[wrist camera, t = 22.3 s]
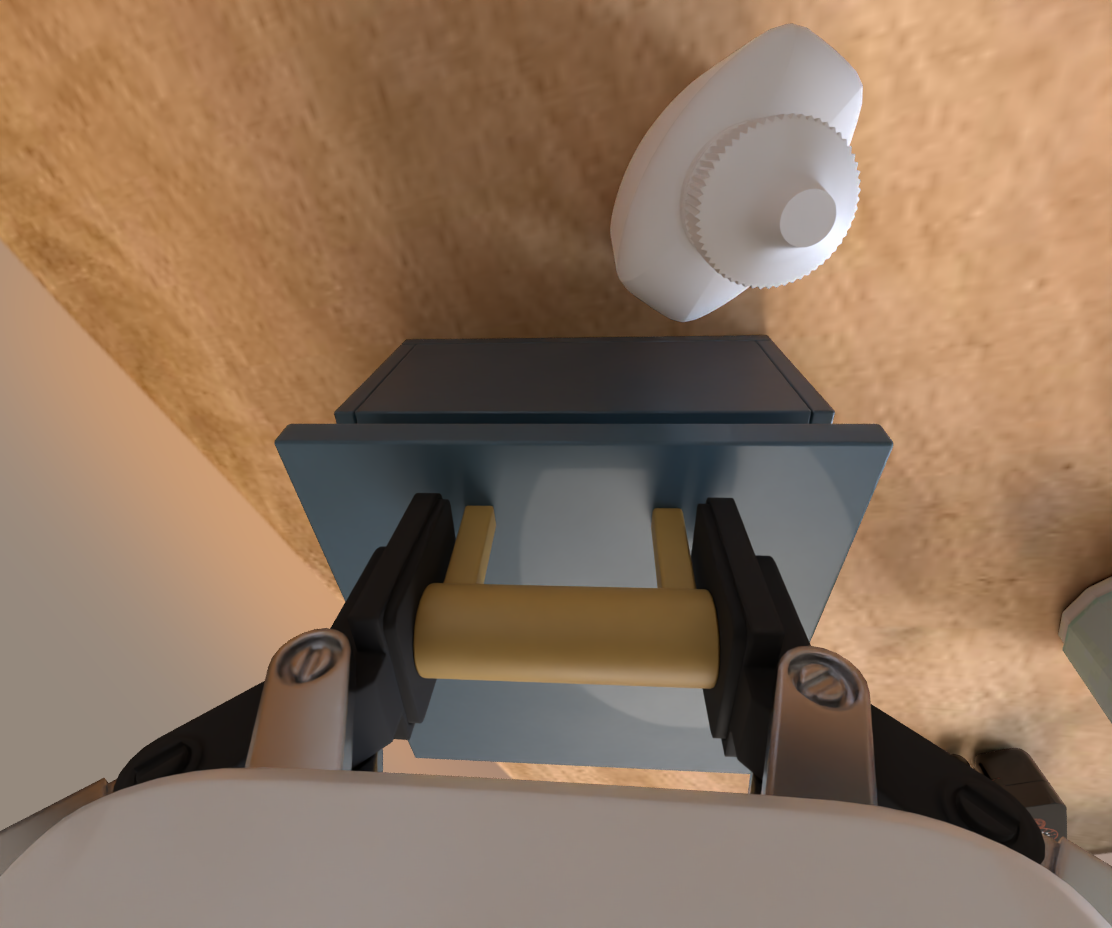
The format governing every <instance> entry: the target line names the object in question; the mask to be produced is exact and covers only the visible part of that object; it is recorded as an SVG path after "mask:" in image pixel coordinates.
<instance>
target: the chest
mask: <svg viewBox="0 0 1112 928" xmlns="http://www.w3.org/2000/svg"><path fill="white" fill-rule="evenodd" d="M834 414H835V411H834V410H833V409H832V407H831V406H830V405H829V404H828V403H827V402H826V401H825V400H824V398H823V397H822V396H821V395H820V394H819V393H818V392H817V391H816V390H815V388H814V387H813V386H812V385H811V384H810V383H809V382H808V381H807V379H806V378H805V377H804V376H803V375H802V374H801V373H800V372H799V370H798V369H797V368H796V367H795V366H794V365H793V364H792V363H791V361H790V360H789V359H788V358H787V357H786V356H785V355H784V354H783V352H782V351H781V350H780V349H779V348H778V347H777V346H776V345H775V343H774V342H773V341H772V340H771V339H770V338H769V336H767V335H747V336H664V337H581V338H497V339H414V340H405V341H404V342H403V343H402V345H400V346H399V347H398V348H397V349H396V350H395V351H394V352H393V353H392V354H391V355H390V356H389V357H388V358H387V359H386V360H385V361H384V362H383V363H382V364H381V365H380V366H379V367H378V368H377V369H376V370H375V371H374V373H373V374H372V375H371V376H370V377H369V378H368V379H367V380H366V381H365V382H364V383H363V384H362V385H361V386H360V387H359V388H358V389H357V390H356V391H355V392H354V393H353V394H352V395H351V396H350V397H349V398H348V399H347V400H346V401H345V402H344V403H343V404H342V405H341V406H340V407H339V408H338V409H337V410H336V411H335V412H334V415H335V418H336V422H337V424H832V422H833V418H834Z"/></svg>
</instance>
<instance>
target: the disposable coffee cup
mask: <svg viewBox="0 0 1112 928" xmlns="http://www.w3.org/2000/svg"><path fill="white" fill-rule="evenodd" d="M1058 635H1059V637H1060V638H1061V640H1062V641H1063V643H1064V646H1063V651H1064V653H1065V654H1066V656H1067V657H1068V659H1069V660H1070V662H1071V663H1072V665H1073V666H1074V668H1075V669H1076V671H1077V672H1078V674H1079V675H1080V677H1081V678H1082V680H1083V681H1084V683H1085V684H1086V686H1087V687H1088V689H1089V690H1090V692H1091V693H1092V695H1093V696H1094V698H1095V699H1096V701H1097V702H1098V704H1099V705H1100V707H1101V708H1102V710H1103V711H1104V713H1105V714H1106V716H1107V717H1108V719H1109V720H1110V722H1111V723H1112V577H1110V578H1107V579H1105V580H1103V581H1101V582H1099V583H1097V584H1095V585H1093V586H1091V587H1089V588H1087V589H1086V590H1085V591H1084V592H1083V593H1082V594H1081V595H1080V596H1079V597H1078V598H1077V599H1076V600H1075V601H1074V602H1073V603H1072V604H1071V605H1070V606H1069V607H1068V608H1067V609H1066V610H1065V611H1064V612H1063V614H1062V619H1061V623H1060V628H1059V633H1058Z"/></svg>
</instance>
